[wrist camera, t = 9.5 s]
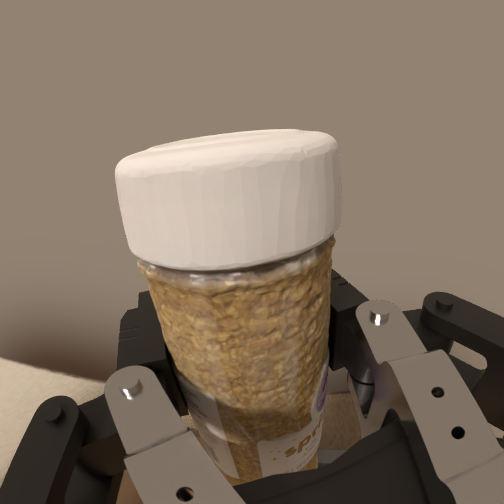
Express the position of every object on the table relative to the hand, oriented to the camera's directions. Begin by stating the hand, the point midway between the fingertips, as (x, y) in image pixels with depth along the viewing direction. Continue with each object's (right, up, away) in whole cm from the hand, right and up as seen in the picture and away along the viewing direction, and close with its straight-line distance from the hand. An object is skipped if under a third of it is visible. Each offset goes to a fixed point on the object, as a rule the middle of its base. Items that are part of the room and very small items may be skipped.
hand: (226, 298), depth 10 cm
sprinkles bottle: (+2, -8, +1) cm, 9 cm away
